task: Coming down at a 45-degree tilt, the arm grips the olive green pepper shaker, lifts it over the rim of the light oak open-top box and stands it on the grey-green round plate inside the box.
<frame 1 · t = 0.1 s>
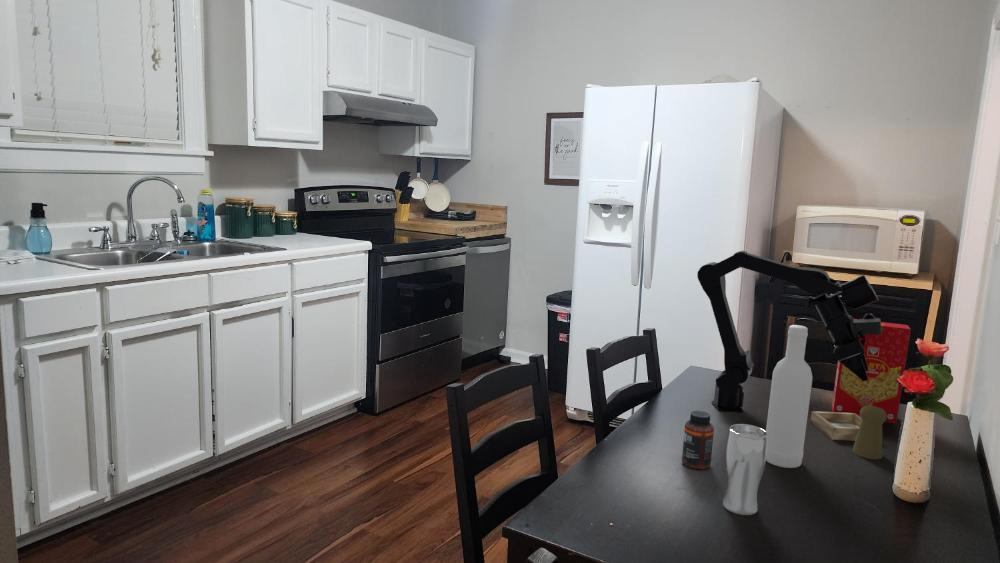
hand: (866, 375, 162), 15 cm above the table, tool tilted 30°, fingers open, 9 cm apart
bottle: (781, 461, 147), on the table
olive green pepper shaker: (867, 454, 153), on the table
beer glass: (739, 508, 125), on the table
oak box: (842, 431, 166), on the table
food packaging: (862, 415, 179), on the table
supplement bottle: (695, 465, 143), on the table
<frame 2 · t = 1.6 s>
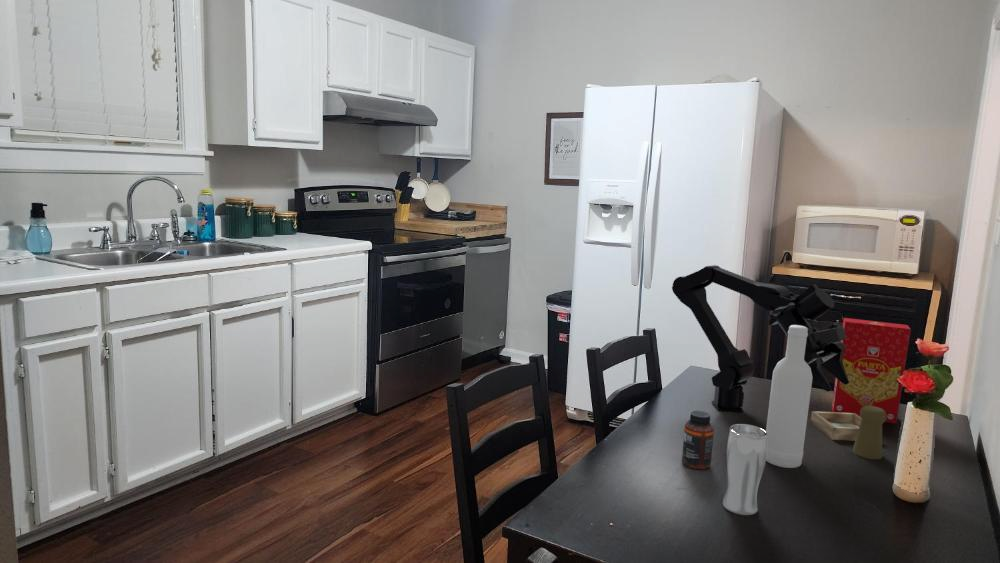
hand: (838, 387, 156), 13 cm above the table, tool tilted 45°, fingers open, 9 cm apart
nothing on the table moved.
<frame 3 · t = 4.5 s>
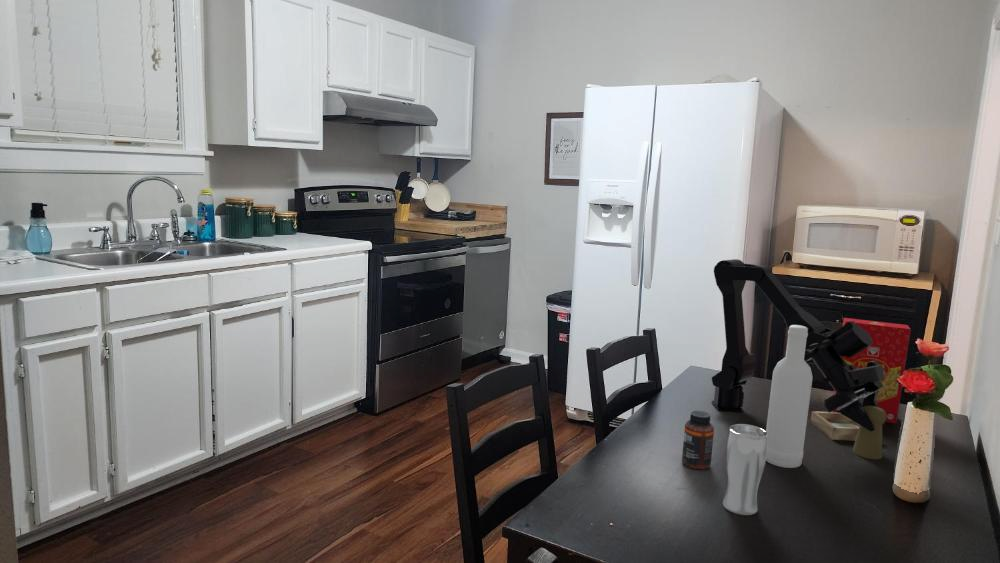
hand: (877, 428, 151), 7 cm above the table, tool tilted 45°, fingers closed on olive green pepper shaker, 5 cm apart
olive green pepper shaker: (867, 454, 153), on the table, touching gripper
everything else where it was.
when the fingers open (9 cm above the table, at t = 7.6 s): olive green pepper shaker stays where it is, resting on oak box.
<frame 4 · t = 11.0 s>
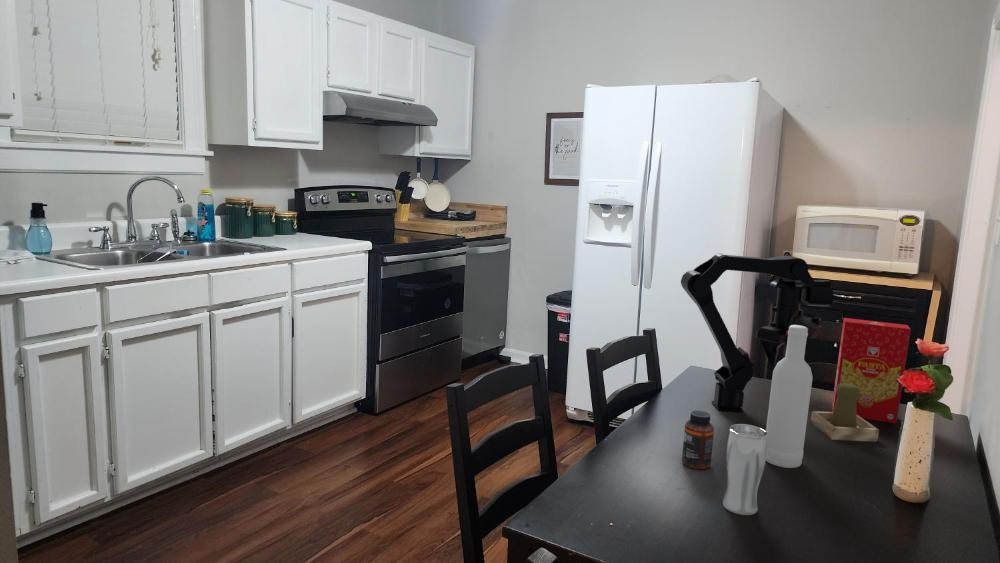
hand: (781, 362, 177), 13 cm above the table, tool pointing down, fingers open, 9 cm apart
olive green pepper shaker: (842, 428, 165), point 1 cm above the table, touching oak box
everything else where it was.
at the end: olive green pepper shaker inside the target area on the oak box (0.1 cm from its centre), point 0.9 cm above the oak box's base; olive green pepper shaker tilted 0°; the gripper is holding nothing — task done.
